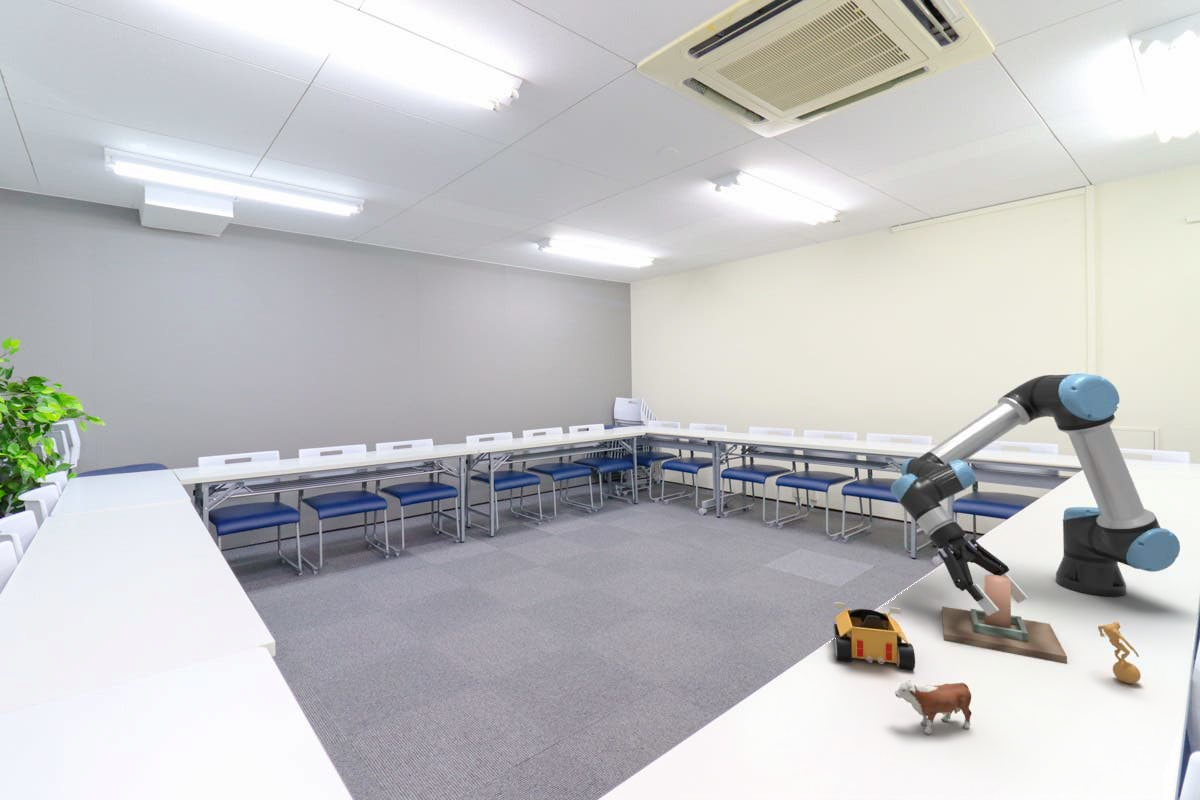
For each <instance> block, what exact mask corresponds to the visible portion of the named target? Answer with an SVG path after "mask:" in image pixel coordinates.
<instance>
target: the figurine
mask: <svg viewBox="0 0 1200 800" xmlns="http://www.w3.org/2000/svg"><path fill="white" fill-rule="evenodd" d="M1120 628H1121V626H1120V623H1119V622H1118V621H1114V622H1113V623H1110V624H1104V625H1099V626H1097V629H1098V631H1099V635H1100V637H1101V638H1104V637H1105V636H1107V637H1108V639H1109V640H1108V641H1109V643H1111V645H1112V646H1113V647H1114V648H1115V650H1114V656H1115V657H1116V659H1117V660H1118V661H1117V662H1115V663H1114V664H1113V666H1112V672H1113V675H1114V676H1115V677H1116V678H1117V679H1118V680H1119V681H1121V682H1123V683H1126V684H1136V683H1138V682H1139V681H1140V680H1141V677H1142V676H1141V671H1140V670H1139V668H1138V667H1137V666H1136V665H1134V664H1133V663H1131V662H1129V661H1127V660H1126V658H1127V657H1128V656H1129V655H1130V654H1131V652H1130V650H1132V651H1133V652H1134V654H1135V655H1136V657H1137V658H1140V655H1139V653H1138V651H1136V650H1135V648H1134V647H1133V645H1131V644H1130V642H1128V641H1127V640H1126V638H1125V637H1124V636H1123V635H1122V633H1121V632H1120V630H1119V629H1120ZM1103 632H1104V633H1103ZM1120 640H1121V641H1123V642H1124V643H1125V644H1126V646H1127V647H1128V648H1129V649H1130V650H1129V649H1128V648H1127V647H1126V646H1125V645H1124V644H1123V643H1122V642H1120ZM1121 651H1122V652H1123V653H1122V654H1121V655H1120V656H1121V657H1120V656H1119V654H1120V652H1121Z"/></svg>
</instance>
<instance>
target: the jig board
mask: <svg viewBox="0 0 1200 800" xmlns="http://www.w3.org/2000/svg"><path fill="white" fill-rule="evenodd" d="M941 617H942V628H943V640H944V641H946V642H947V641H948V642H951V643H957V644H963V645H967V646H973V647H979V648H983V649H989V650H995V651H1000V652H1005V653H1010V654H1014V655H1015V654H1017V655H1021V656H1025V657H1031V658H1035V659H1041V660H1047V661H1054V662H1058V663H1062V664H1063V663H1064V664H1068V655H1067V653H1066V651H1065V650H1064V648H1063V646H1062V645H1061V644H1062V643H1061V642H1060V641H1059V638H1058V636H1057V634H1056V633H1055V631H1054V630H1053V627H1052V626H1051V623H1049V622H1048V623H1046V622H1041V621H1036V620H1030V619H1028V620H1027V619H1023V618H1022V616H1018V615H1012V614H1011V629H1009V628H1003V627H997V626H991V625H985V612H984V610H983V609H982V610H981V609H976V608H975V609H974V608H970V610H968V609H962V608H954V607H949V606H941Z"/></svg>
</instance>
